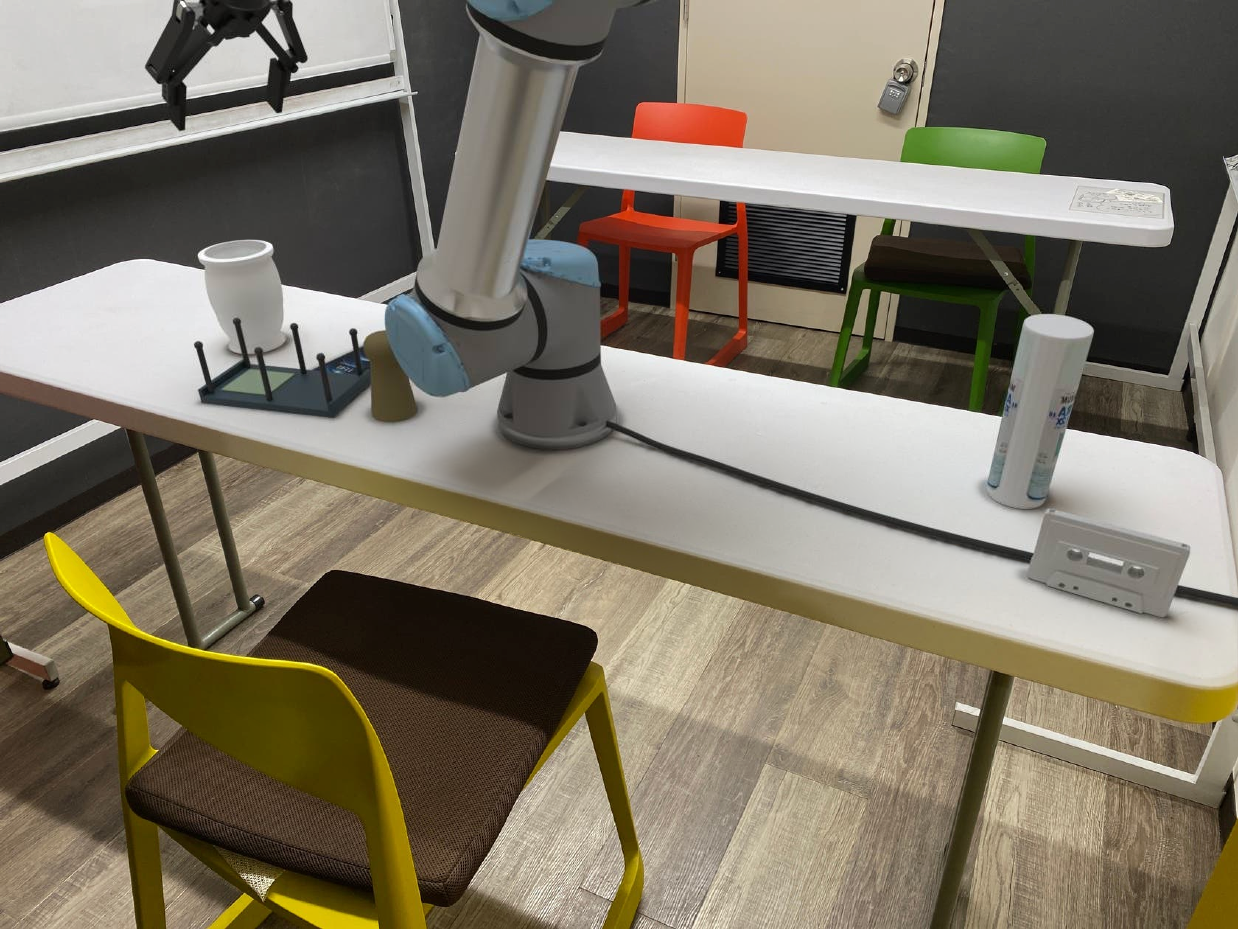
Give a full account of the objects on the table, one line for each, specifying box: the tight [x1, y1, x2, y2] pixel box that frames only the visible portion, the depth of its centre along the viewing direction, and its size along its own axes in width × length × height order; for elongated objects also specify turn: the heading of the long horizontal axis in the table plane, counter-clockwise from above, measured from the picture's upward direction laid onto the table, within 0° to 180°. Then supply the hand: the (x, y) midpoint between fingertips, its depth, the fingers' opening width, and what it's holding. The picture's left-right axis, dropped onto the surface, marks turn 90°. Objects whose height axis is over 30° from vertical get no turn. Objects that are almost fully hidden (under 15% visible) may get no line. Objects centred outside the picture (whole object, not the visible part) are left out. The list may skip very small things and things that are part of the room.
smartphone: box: [312, 345, 370, 375], centre depth 134 cm, size 8×1×15 cm
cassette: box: [1027, 508, 1191, 618], centre depth 83 cm, size 12×2×8 cm, turn 59°
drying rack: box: [193, 318, 371, 419], centre depth 122 cm, size 20×11×9 cm, turn 76°
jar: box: [197, 239, 287, 355], centre depth 135 cm, size 11×10×15 cm
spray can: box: [986, 313, 1095, 510], centre depth 95 cm, size 6×6×20 cm
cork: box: [362, 329, 419, 423], centre depth 116 cm, size 6×6×11 cm
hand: (226, 114), depth 117 cm, fingers open, 13 cm apart
